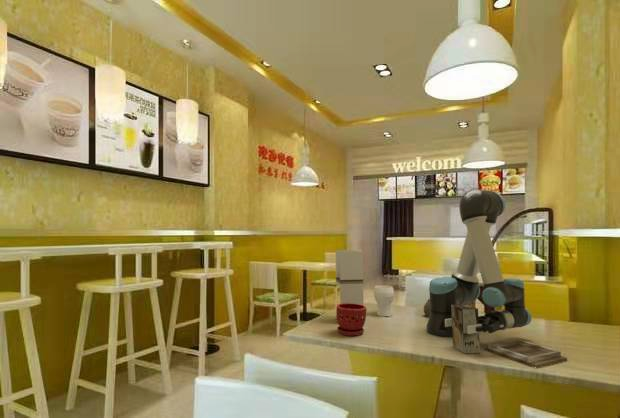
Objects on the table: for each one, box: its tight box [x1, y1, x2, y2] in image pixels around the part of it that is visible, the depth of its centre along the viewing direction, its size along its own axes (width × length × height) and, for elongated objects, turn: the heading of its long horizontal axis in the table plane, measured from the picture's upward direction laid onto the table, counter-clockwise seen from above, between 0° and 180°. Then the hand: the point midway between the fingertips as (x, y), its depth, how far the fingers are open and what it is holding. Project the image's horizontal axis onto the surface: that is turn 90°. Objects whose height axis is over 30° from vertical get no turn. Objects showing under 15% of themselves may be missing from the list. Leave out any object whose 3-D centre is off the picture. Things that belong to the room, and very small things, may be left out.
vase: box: [423, 298, 430, 318], centre depth 186 cm, size 7×7×9 cm
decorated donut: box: [478, 310, 486, 316], centre depth 181 cm, size 10×11×4 cm
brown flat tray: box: [483, 338, 568, 369], centre depth 127 cm, size 20×16×2 cm
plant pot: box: [336, 303, 367, 336], centre depth 157 cm, size 13×13×12 cm
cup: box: [373, 285, 395, 317], centre depth 190 cm, size 11×11×15 cm
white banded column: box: [335, 249, 364, 320], centre depth 179 cm, size 11×11×35 cm
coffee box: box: [451, 304, 480, 354], centre depth 134 cm, size 9×6×16 cm
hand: (456, 326), depth 133 cm, fingers closed on coffee box, 10 cm apart
